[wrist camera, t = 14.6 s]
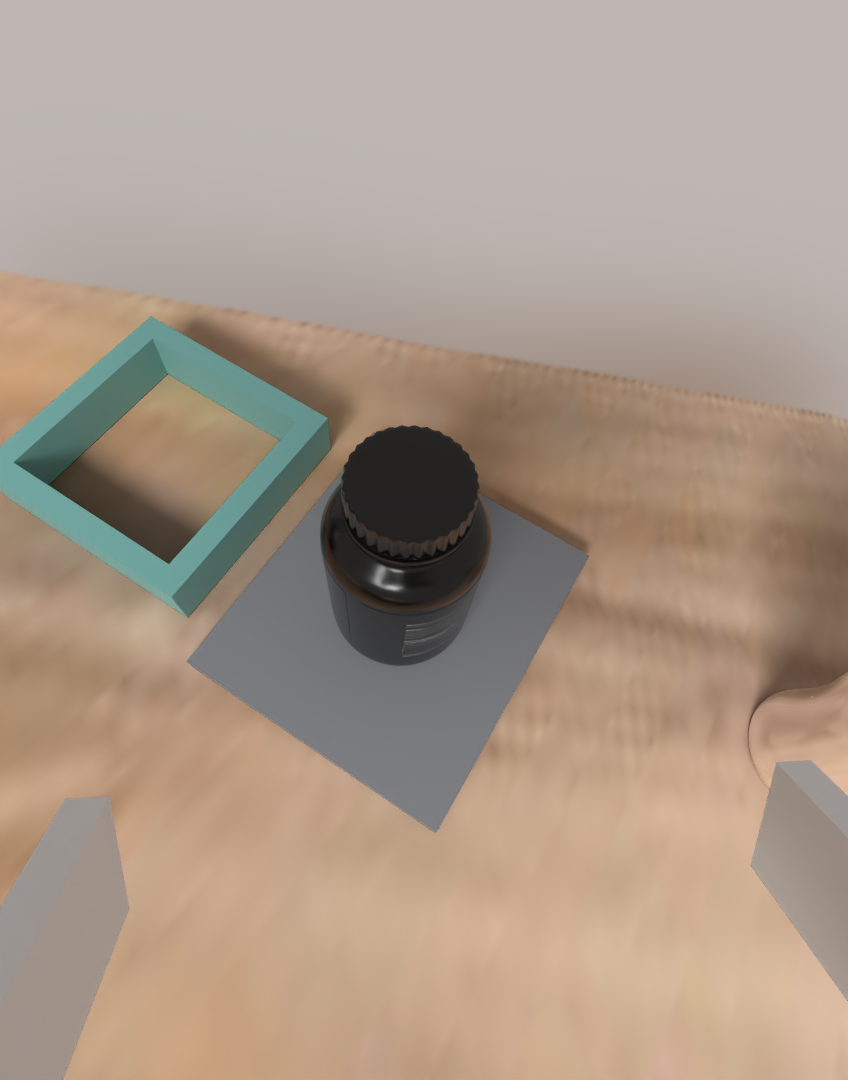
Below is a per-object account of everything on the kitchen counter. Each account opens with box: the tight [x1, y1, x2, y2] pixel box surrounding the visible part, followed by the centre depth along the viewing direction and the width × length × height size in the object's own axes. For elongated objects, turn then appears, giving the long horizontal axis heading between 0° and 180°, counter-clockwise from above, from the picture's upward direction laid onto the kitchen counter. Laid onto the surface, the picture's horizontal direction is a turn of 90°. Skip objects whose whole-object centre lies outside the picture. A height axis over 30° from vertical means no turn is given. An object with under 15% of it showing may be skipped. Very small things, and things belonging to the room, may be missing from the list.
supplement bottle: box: [320, 425, 492, 666], centre depth 27 cm, size 7×7×12 cm
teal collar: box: [0, 317, 331, 618], centre depth 34 cm, size 12×12×3 cm
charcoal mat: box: [187, 433, 589, 832], centre depth 33 cm, size 14×16×1 cm
